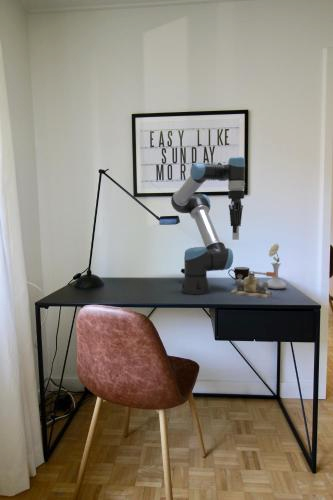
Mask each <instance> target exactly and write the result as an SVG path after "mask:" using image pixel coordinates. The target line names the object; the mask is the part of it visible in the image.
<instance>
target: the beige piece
mask: <svg viewBox="0 0 333 500" xmlns="http://www.w3.org/2000/svg"><path fill="white" fill-rule="evenodd" d="M255 275H256V274H249V276H248V277H246V278H244V280H240V279H236V281H235V280H234V281H235V284H234V285H235V286H236V288H235V289H233V290H231V291H230V294H231V295H238V296H239V295H240V296H247V297H254V298H263V299H268V298H269V297H270V296H271V295H273V294H272V293H273V292H272V291H269V290H268V289H269V288H268V282H267V281H260V277H255Z"/></svg>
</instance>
